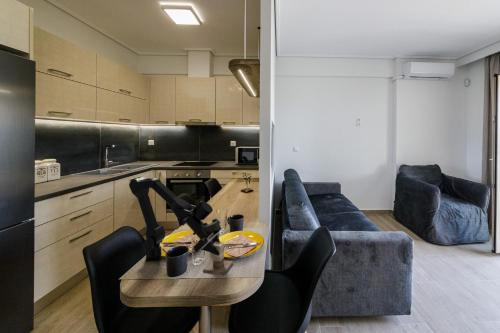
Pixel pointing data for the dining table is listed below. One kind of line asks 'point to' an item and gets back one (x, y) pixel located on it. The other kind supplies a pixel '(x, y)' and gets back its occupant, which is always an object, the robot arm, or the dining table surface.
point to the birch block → (220, 248)
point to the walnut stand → (218, 267)
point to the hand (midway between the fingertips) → (220, 252)
